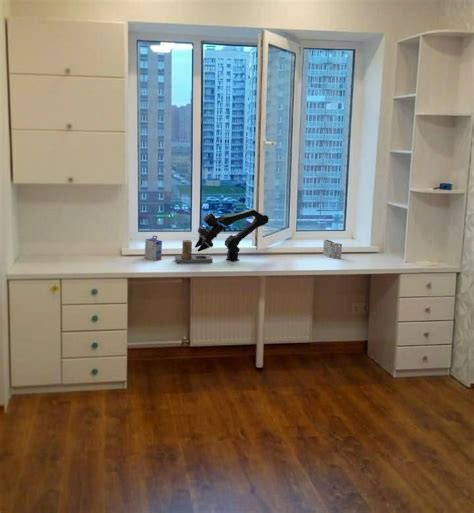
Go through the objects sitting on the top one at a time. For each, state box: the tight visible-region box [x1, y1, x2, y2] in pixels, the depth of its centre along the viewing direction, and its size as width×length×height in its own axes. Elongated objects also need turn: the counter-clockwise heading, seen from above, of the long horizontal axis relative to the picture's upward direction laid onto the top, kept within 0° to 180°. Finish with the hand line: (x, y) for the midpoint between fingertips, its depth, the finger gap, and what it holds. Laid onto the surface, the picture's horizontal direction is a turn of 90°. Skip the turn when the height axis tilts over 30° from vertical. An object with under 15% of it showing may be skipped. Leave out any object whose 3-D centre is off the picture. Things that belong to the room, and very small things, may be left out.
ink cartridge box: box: [144, 235, 163, 262], centre depth 401 cm, size 10×6×14 cm, turn 53°
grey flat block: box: [174, 254, 213, 264], centre depth 402 cm, size 22×9×2 cm, turn 104°
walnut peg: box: [181, 239, 193, 259], centre depth 400 cm, size 5×5×13 cm
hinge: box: [322, 239, 343, 259], centre depth 430 cm, size 14×5×10 cm, turn 41°
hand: (196, 249), depth 401 cm, fingers open, 9 cm apart
